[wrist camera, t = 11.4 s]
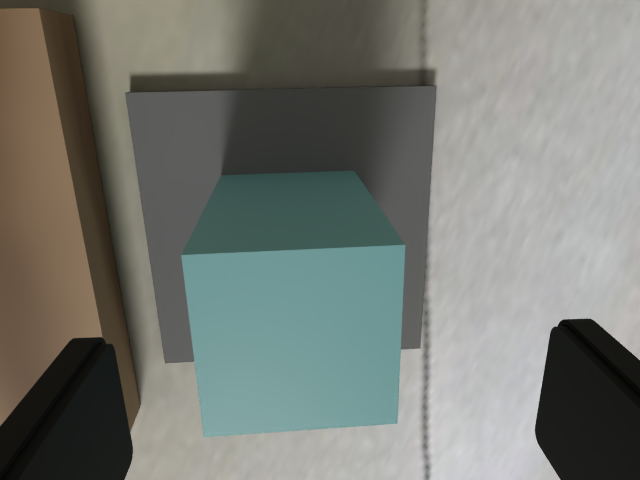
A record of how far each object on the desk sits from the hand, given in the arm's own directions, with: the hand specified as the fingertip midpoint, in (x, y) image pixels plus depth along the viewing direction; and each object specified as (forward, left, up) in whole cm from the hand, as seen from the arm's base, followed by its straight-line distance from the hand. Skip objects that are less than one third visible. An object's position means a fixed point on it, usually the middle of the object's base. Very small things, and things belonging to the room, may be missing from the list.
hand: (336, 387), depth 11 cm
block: (+1, 0, -10) cm, 10 cm away
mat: (+1, 0, -10) cm, 10 cm away
